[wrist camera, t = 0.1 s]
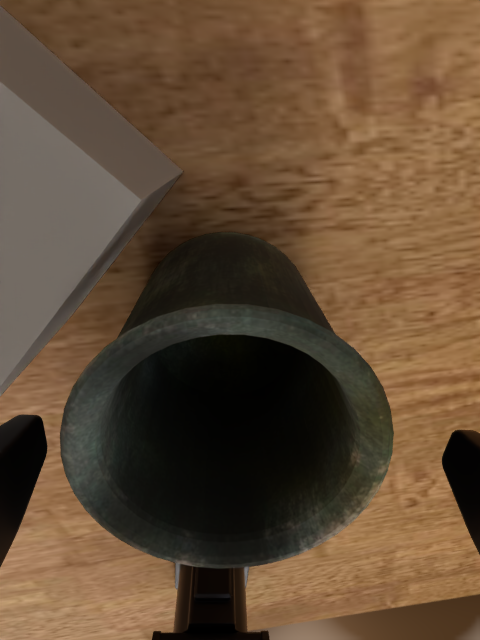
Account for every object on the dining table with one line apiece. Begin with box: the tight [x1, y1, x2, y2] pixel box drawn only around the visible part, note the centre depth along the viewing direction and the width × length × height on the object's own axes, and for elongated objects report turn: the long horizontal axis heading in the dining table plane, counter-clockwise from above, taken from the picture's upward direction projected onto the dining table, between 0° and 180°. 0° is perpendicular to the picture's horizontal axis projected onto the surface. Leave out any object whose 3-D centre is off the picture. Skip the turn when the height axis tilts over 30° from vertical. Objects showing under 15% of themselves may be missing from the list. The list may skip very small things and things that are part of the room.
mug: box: [60, 232, 394, 568], centre depth 18 cm, size 11×15×12 cm
